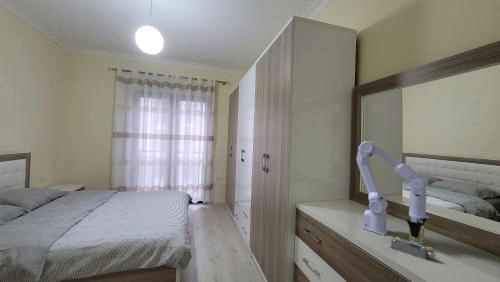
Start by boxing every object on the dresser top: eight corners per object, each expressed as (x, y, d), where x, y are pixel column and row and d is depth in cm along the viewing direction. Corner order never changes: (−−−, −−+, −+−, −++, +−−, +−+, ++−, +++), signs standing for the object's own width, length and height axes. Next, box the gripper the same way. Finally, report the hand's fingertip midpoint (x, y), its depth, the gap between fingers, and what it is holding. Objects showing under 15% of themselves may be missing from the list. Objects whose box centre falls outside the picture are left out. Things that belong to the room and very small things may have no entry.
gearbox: (391, 247, 87) (391, 239, 87) (393, 245, 90) (393, 237, 90) (434, 262, 77) (434, 253, 77) (435, 259, 80) (435, 250, 80)
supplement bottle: (415, 244, 91) (416, 222, 91) (405, 238, 97) (406, 217, 97) (427, 244, 92) (428, 222, 92) (416, 238, 97) (417, 217, 97)
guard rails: (391, 244, 90) (391, 241, 90) (396, 239, 95) (396, 236, 95) (429, 257, 81) (429, 254, 81) (432, 250, 86) (433, 247, 86)
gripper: (426, 209, 86) (425, 242, 86) (431, 203, 96) (430, 233, 96) (405, 205, 92) (404, 236, 92) (412, 200, 101) (411, 228, 101)
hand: (416, 234), depth 94 cm, fingers open, 7 cm apart
